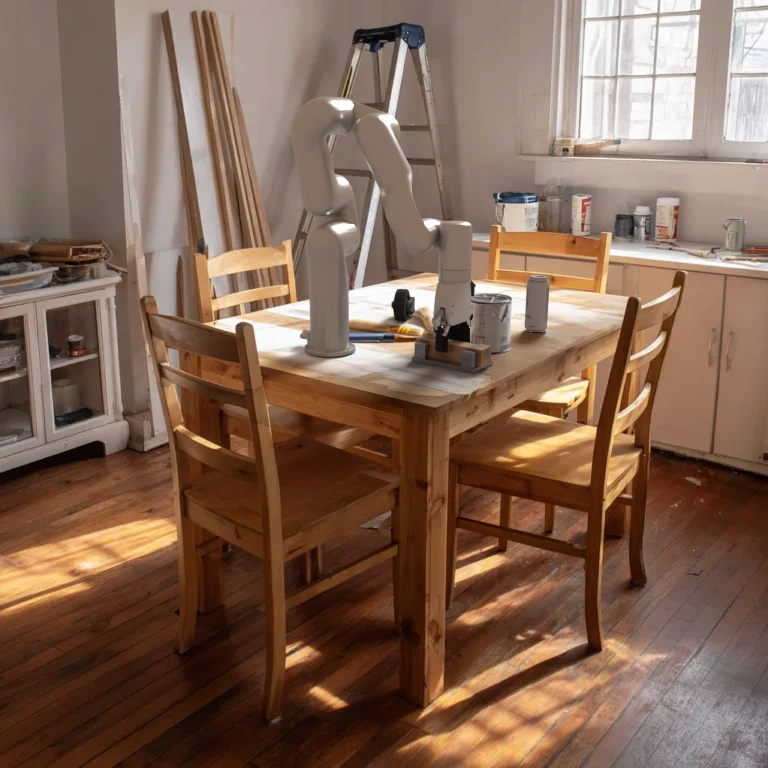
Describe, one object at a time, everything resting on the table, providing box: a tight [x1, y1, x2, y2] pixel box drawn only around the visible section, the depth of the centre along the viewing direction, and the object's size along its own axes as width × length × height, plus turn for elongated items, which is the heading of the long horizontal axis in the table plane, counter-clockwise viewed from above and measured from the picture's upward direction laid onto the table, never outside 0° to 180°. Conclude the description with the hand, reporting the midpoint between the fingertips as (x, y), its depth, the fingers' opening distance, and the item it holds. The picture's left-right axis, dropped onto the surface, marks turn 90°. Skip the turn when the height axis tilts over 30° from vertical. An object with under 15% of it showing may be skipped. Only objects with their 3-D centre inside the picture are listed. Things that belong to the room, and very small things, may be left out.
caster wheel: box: [391, 288, 416, 322], centre depth 255 cm, size 6×10×15 cm
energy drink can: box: [524, 273, 551, 332], centre depth 241 cm, size 6×6×15 cm
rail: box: [415, 334, 491, 367], centre depth 213 cm, size 18×4×4 cm, turn 54°
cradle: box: [411, 335, 494, 374], centre depth 213 cm, size 17×9×4 cm, turn 55°
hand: (452, 347), depth 212 cm, fingers open, 9 cm apart
